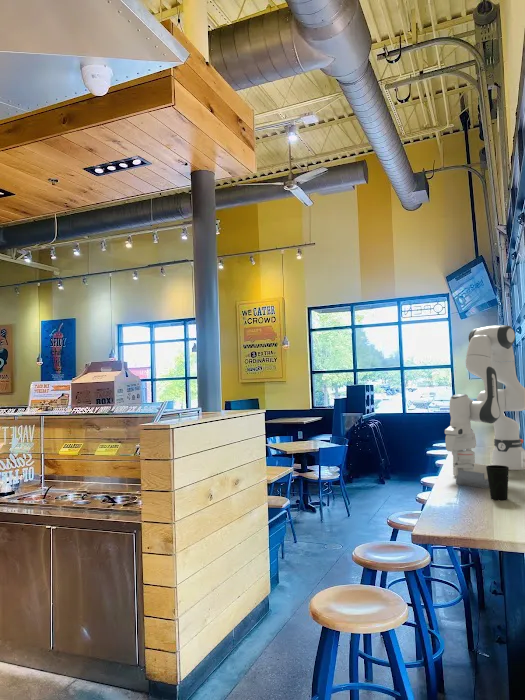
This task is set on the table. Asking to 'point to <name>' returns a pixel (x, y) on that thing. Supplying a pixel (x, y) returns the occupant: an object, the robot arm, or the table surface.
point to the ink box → (464, 461)
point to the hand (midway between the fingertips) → (462, 459)
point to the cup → (498, 481)
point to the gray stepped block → (472, 479)
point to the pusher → (481, 469)
